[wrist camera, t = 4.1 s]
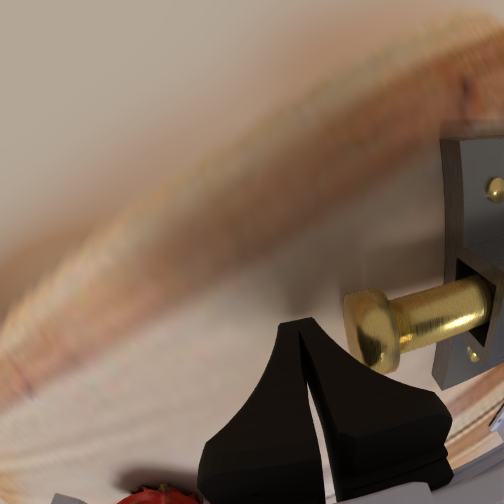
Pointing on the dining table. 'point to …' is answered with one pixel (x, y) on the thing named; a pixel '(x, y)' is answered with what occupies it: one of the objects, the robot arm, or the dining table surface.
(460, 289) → the pin
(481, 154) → the hinge leaves
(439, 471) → the robot arm
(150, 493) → the dragon fruit
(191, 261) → the dining table surface
